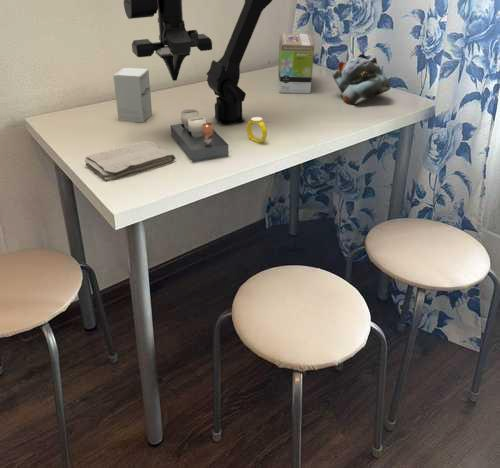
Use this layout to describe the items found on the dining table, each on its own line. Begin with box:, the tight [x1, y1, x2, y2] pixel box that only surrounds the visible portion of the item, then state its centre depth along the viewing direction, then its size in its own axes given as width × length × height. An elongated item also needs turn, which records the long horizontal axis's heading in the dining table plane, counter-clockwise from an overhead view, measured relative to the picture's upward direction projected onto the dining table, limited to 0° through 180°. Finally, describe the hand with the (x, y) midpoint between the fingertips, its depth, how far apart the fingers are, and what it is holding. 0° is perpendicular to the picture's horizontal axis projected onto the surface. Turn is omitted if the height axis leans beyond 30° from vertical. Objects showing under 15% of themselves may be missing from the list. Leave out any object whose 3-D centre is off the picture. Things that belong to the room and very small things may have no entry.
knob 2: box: [188, 115, 207, 138], centre depth 141 cm, size 4×4×6 cm
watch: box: [246, 116, 268, 144], centre depth 144 cm, size 6×3×6 cm, turn 43°
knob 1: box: [180, 108, 200, 130], centre depth 145 cm, size 4×4×6 cm
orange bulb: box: [202, 122, 214, 146], centre depth 134 cm, size 2×2×5 cm
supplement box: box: [113, 67, 153, 123], centre depth 156 cm, size 7×7×13 cm
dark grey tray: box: [170, 123, 230, 163], centre depth 142 cm, size 9×17×3 cm, turn 23°
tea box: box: [277, 33, 315, 94], centre depth 180 cm, size 15×10×15 cm
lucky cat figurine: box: [332, 53, 391, 106], centre depth 171 cm, size 15×12×14 cm
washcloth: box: [84, 140, 176, 182], centre depth 134 cm, size 12×18×3 cm, turn 129°
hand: (174, 80), depth 145 cm, fingers closed
